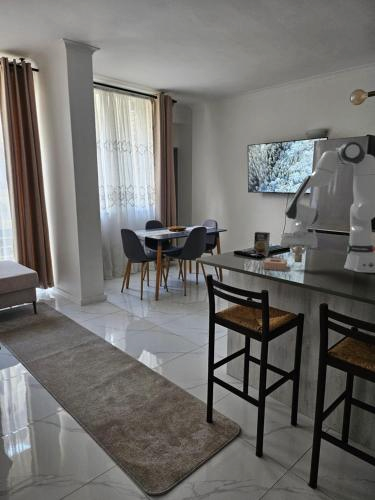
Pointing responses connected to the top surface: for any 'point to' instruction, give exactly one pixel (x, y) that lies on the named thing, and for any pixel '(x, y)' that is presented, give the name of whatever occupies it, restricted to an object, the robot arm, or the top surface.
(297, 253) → the ash peg
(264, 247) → the coffee box
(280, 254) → the top surface
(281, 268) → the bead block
